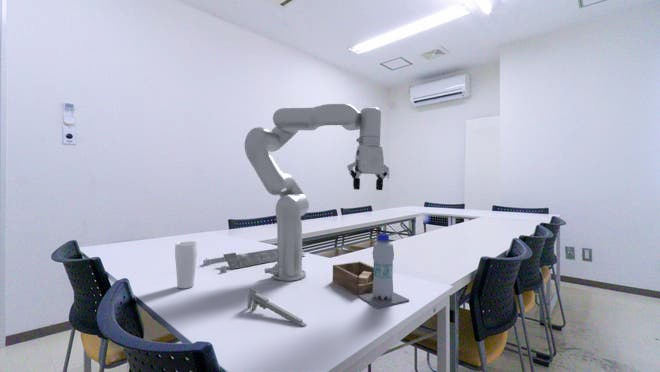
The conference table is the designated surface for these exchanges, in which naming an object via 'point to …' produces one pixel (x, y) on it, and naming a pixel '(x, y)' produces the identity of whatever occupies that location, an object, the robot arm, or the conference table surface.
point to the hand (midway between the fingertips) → (368, 189)
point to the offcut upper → (365, 277)
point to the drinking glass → (185, 263)
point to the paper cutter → (244, 259)
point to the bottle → (383, 267)
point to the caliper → (271, 307)
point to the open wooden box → (352, 277)
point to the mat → (383, 303)
